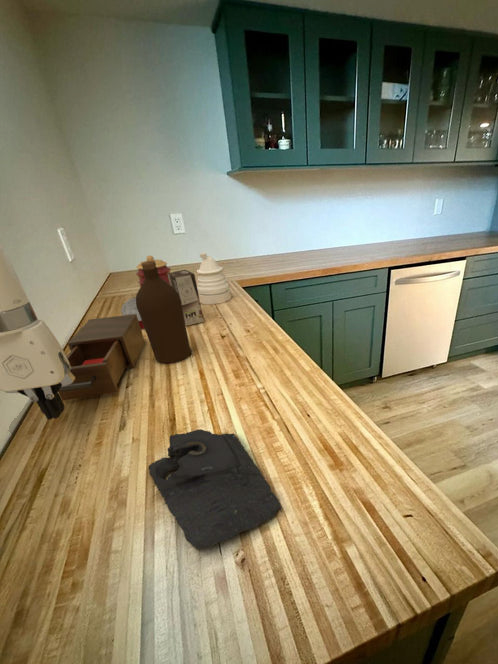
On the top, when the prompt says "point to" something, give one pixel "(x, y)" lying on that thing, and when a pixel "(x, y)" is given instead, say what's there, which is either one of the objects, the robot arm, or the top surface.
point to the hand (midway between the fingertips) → (56, 414)
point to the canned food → (131, 310)
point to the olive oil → (162, 316)
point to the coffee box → (187, 295)
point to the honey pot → (212, 282)
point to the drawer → (95, 369)
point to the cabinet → (113, 335)
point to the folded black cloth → (212, 487)
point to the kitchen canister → (160, 266)
